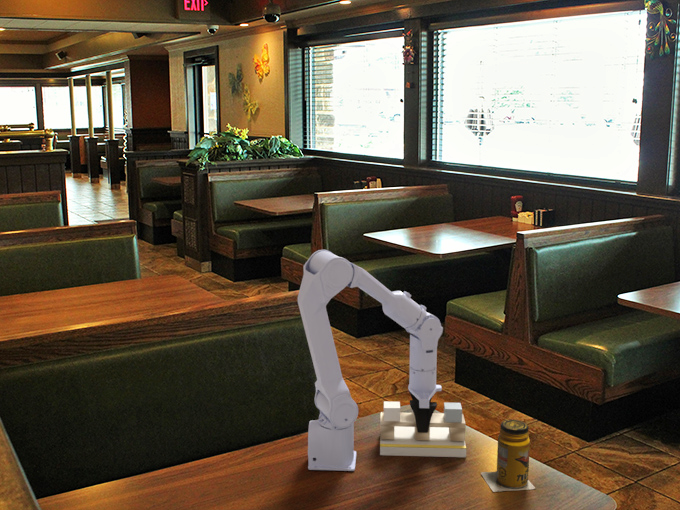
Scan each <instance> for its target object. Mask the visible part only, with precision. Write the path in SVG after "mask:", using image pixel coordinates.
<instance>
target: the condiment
mask: <svg viewBox="0 0 680 510" xmlns="http://www.w3.org/2000/svg"><path fill="white" fill-rule="evenodd" d="M530 445H531V440H530V437H529V426H528V424H527V423H526V422H525V421H523V420H518V419H505V420H503V421H502V422H501V423H500V429H499V434H498V437H497V455H496V457H497V458H496V471H483V472H480V475H481V476H482V477H483V479H484V481H485V482H486V484H487V486H488V487H489V488H490V490H492V492H493V493H496V492H497V493H499V492H505V491H506V492H508V491H511V492H513V491H516V492H517V491H527V490H535V489H536V487H535V486H534V485H533V483H532V482H531V481H530V480H529V471H530V469H529V466H530Z"/></svg>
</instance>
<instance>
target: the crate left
mask: <svg viewBox="0 0 680 510" xmlns="http://www.w3.org/2000/svg"><path fill="white" fill-rule="evenodd" d="M383 412H384V421H400V413H401V402H400V401H389V400H388V401H383Z"/></svg>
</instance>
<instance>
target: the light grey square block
mask: <svg viewBox="0 0 680 510" xmlns="http://www.w3.org/2000/svg"><path fill="white" fill-rule="evenodd" d="M443 413H444V419H445V422H456V423H462V414H463V408H462V404H461V402H443Z"/></svg>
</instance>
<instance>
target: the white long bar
mask: <svg viewBox="0 0 680 510" xmlns="http://www.w3.org/2000/svg"><path fill="white" fill-rule="evenodd" d="M379 423H380V424H379V425H380V426H379V427H380V428H379V429H380V430H379V431H380V433H379V440H380V439H394V426H399V427H415V440H430V427H446V428H449V434H450V439H451V441H465V442H466V426H467V425H466V421H465V416H464V413H462V423H456V422H445V419H444V412H441V413H439V412H433V414H432V417H431V421H430V425H429V430H428V432H427V433H418V431H417V427H416V420H415V415H414V412H400V421H384V411H381V412H380V422H379Z"/></svg>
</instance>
